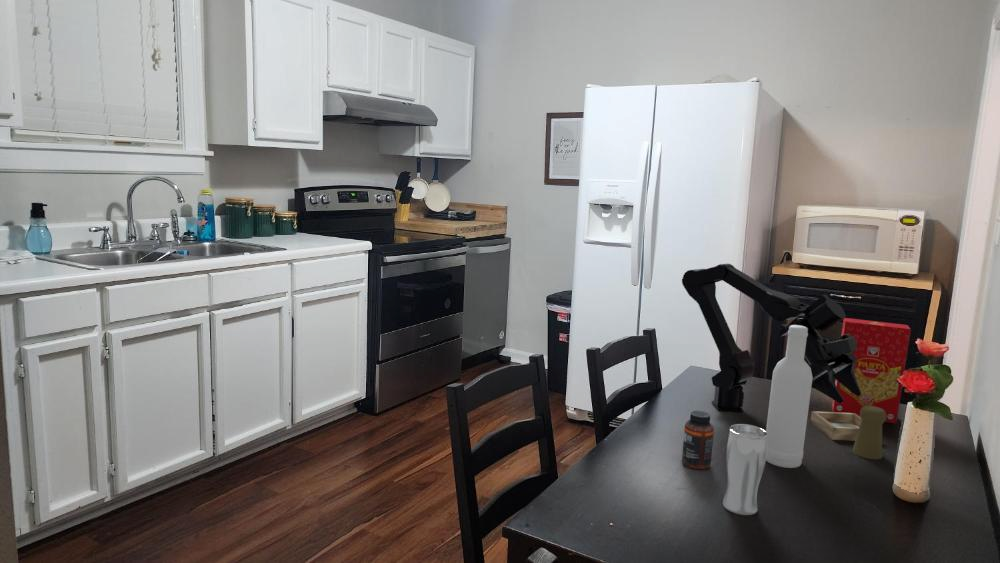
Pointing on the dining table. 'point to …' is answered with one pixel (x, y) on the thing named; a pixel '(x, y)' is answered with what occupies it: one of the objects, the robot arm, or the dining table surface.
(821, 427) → the oak box
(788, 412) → the bottle
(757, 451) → the beer glass
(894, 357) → the food packaging
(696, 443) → the supplement bottle
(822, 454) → the dining table surface
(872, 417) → the olive green pepper shaker
